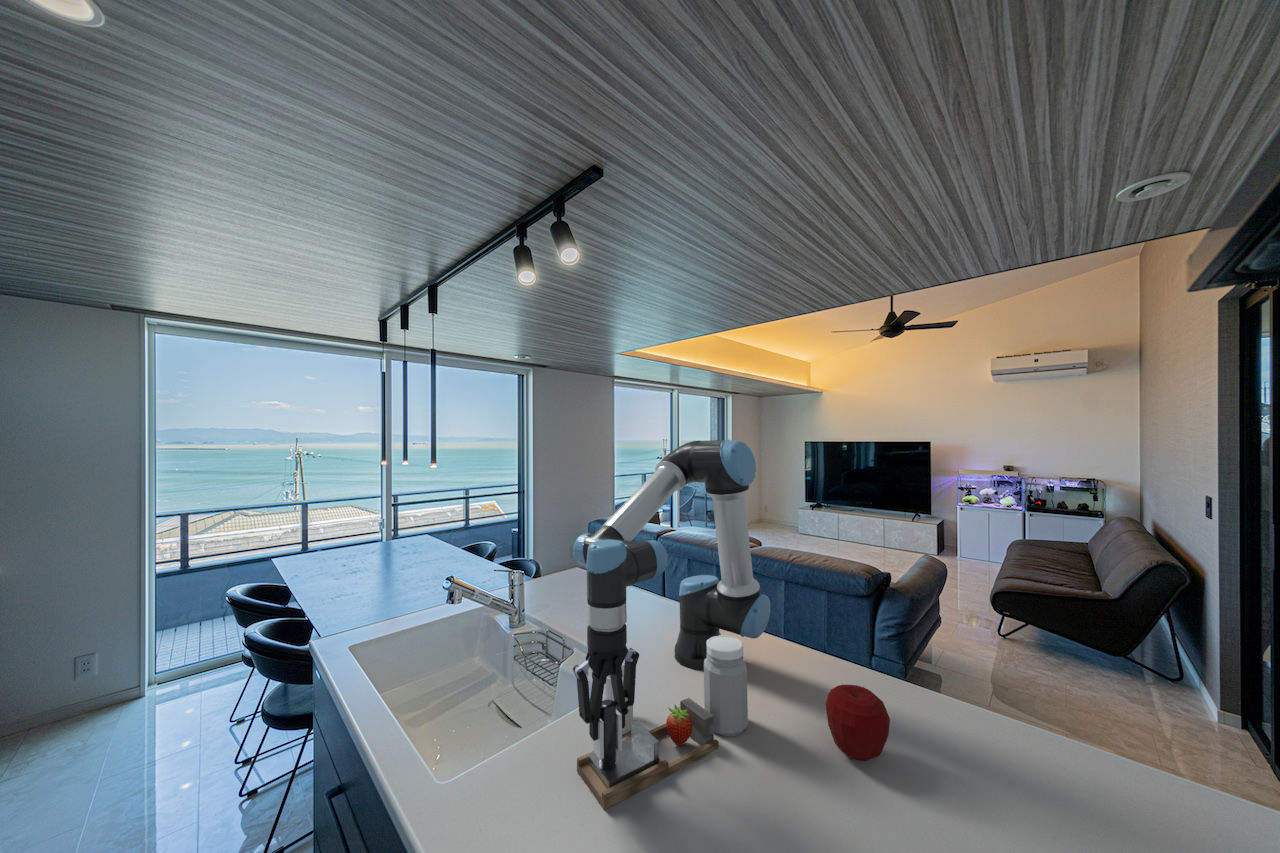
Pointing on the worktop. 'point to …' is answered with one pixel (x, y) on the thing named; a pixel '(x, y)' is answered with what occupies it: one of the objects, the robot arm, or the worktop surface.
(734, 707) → the jar
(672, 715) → the fruit
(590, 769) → the base
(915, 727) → the worktop surface
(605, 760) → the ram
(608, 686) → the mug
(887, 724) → the apple
